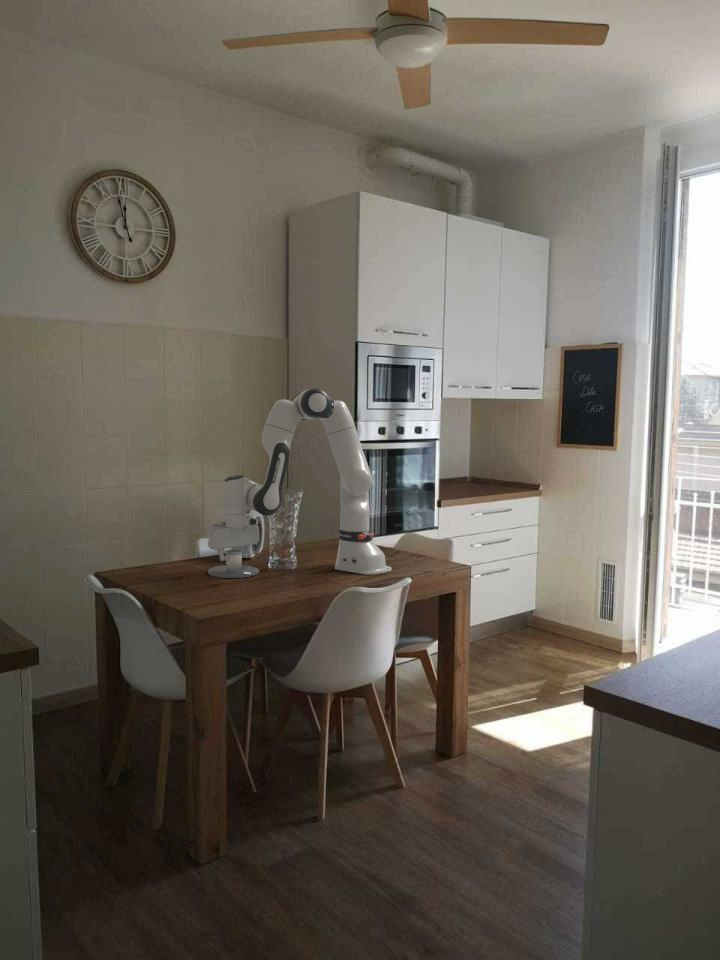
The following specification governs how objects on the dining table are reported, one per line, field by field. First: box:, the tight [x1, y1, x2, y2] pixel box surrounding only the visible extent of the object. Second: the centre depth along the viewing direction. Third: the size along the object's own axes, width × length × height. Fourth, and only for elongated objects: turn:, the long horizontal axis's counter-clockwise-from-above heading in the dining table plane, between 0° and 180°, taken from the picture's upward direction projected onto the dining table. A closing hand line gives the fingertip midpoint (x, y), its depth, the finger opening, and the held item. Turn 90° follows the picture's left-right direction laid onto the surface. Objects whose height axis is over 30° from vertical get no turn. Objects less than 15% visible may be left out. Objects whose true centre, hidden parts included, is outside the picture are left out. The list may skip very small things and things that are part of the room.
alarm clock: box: [230, 509, 265, 558], centre depth 306 cm, size 21×8×20 cm, turn 171°
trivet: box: [207, 564, 260, 579], centre depth 275 cm, size 18×18×1 cm
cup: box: [225, 549, 243, 572], centre depth 275 cm, size 6×6×7 cm
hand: (233, 559), depth 275 cm, fingers open, 8 cm apart
